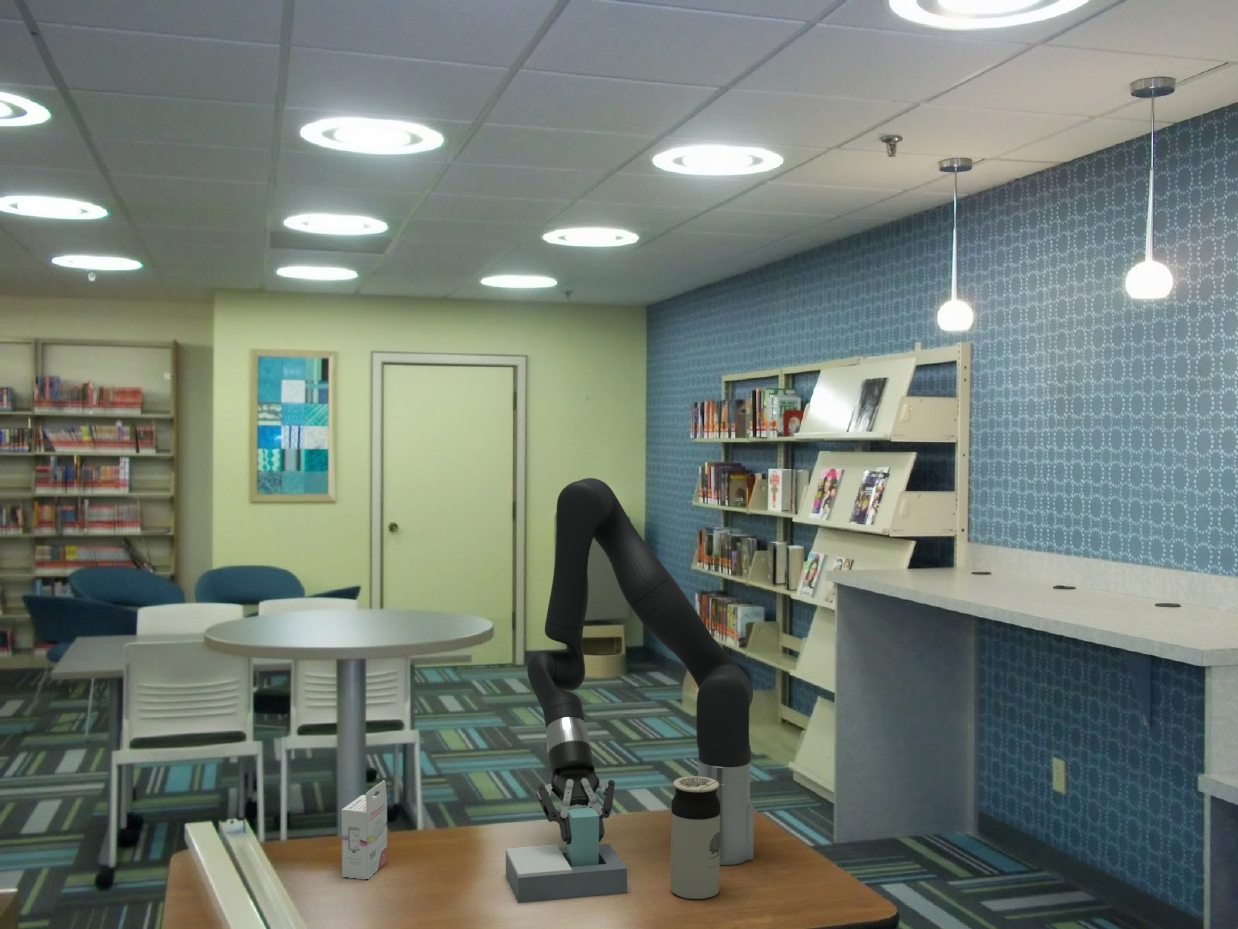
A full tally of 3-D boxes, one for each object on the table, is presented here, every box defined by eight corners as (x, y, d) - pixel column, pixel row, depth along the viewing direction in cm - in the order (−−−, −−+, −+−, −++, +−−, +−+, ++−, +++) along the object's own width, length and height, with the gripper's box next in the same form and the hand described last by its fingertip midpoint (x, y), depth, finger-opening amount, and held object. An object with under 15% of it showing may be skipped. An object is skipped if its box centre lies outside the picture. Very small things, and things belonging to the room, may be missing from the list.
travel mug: (660, 891, 197) (661, 782, 197) (691, 878, 203) (692, 772, 203) (698, 905, 192) (699, 793, 192) (728, 891, 198) (730, 782, 197)
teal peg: (591, 866, 204) (592, 807, 203) (598, 875, 199) (599, 816, 199) (565, 868, 203) (566, 809, 202) (571, 878, 198) (572, 818, 198)
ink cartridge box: (361, 860, 210) (361, 777, 210) (387, 862, 209) (388, 778, 209) (340, 878, 202) (340, 791, 201) (367, 881, 201) (368, 793, 200)
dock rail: (608, 866, 208) (608, 840, 208) (627, 892, 197) (627, 864, 197) (505, 875, 204) (505, 848, 204) (518, 902, 192) (518, 874, 192)
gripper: (532, 741, 206) (545, 834, 195) (612, 736, 210) (630, 827, 199) (526, 763, 212) (538, 855, 201) (604, 758, 215) (621, 848, 204)
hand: (584, 841), depth 200 cm, fingers closed on teal peg, 4 cm apart
